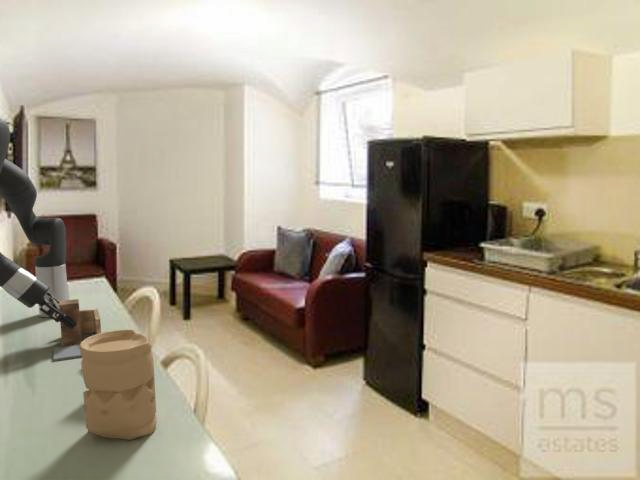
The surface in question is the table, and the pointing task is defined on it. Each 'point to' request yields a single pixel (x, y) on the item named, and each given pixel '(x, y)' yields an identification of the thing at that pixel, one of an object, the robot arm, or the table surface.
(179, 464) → the table surface
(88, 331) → the shelf end
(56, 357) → the mat
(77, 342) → the plate
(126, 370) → the container
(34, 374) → the table surface
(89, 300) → the table surface
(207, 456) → the table surface
